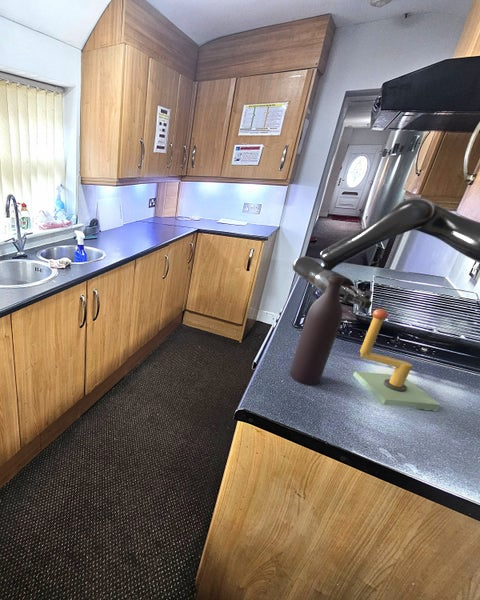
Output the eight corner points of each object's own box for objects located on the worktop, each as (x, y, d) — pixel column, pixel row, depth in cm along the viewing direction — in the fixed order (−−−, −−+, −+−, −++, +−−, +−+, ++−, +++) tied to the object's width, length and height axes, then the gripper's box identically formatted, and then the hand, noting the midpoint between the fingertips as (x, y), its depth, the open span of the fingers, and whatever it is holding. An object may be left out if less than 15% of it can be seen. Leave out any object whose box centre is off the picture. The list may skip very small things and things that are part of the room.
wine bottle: (325, 385, 87) (364, 280, 75) (300, 387, 87) (335, 281, 75) (306, 369, 94) (339, 270, 82) (283, 371, 93) (312, 271, 81)
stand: (399, 381, 90) (403, 372, 89) (437, 411, 79) (442, 402, 78) (352, 377, 91) (355, 368, 90) (382, 405, 80) (386, 396, 79)
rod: (401, 383, 84) (433, 318, 77) (403, 388, 82) (435, 322, 75) (350, 368, 90) (374, 306, 83) (350, 372, 88) (375, 309, 81)
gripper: (314, 272, 106) (346, 290, 90) (358, 274, 104) (399, 294, 89) (307, 293, 109) (337, 315, 93) (350, 296, 107) (388, 319, 91)
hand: (367, 305), depth 91 cm, fingers closed
